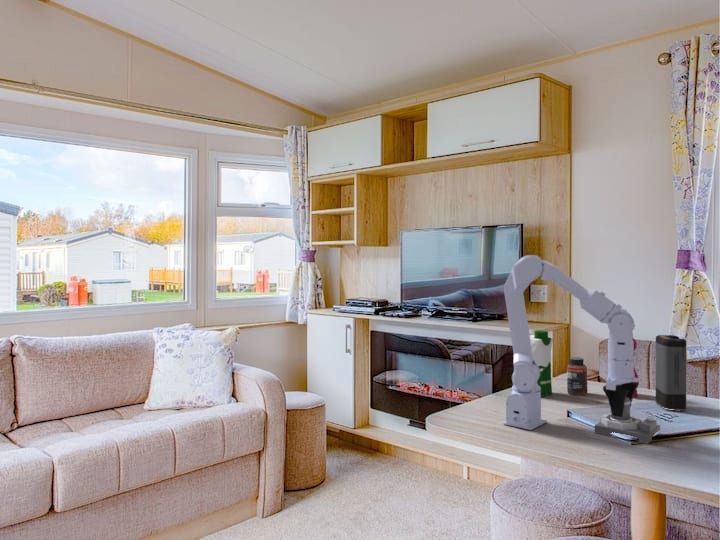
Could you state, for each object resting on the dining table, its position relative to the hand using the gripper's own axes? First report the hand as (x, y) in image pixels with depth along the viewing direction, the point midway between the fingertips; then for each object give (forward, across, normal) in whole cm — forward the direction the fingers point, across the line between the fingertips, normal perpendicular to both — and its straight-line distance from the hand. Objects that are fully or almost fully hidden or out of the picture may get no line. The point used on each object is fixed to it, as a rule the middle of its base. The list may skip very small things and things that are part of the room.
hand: (620, 413), depth 137 cm
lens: (+2, 0, 0) cm, 2 cm away
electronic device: (+5, +32, -3) cm, 32 cm away
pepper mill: (+5, +38, +11) cm, 40 cm away
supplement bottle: (+5, +30, +23) cm, 38 cm away
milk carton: (+5, +22, +33) cm, 40 cm away
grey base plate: (+5, 0, -1) cm, 5 cm away
